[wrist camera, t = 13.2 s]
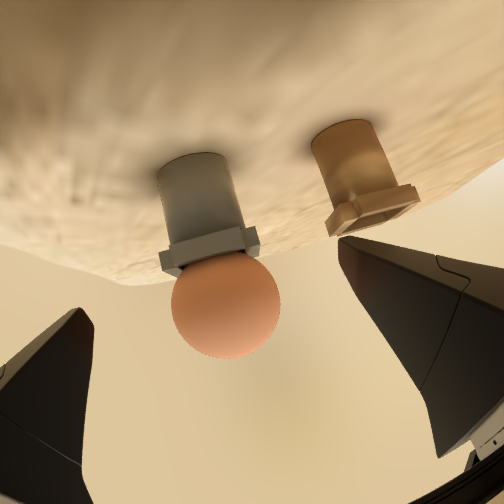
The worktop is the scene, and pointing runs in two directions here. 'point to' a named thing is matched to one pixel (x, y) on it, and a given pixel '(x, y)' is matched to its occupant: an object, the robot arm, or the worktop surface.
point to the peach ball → (225, 305)
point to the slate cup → (201, 212)
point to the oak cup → (359, 178)
